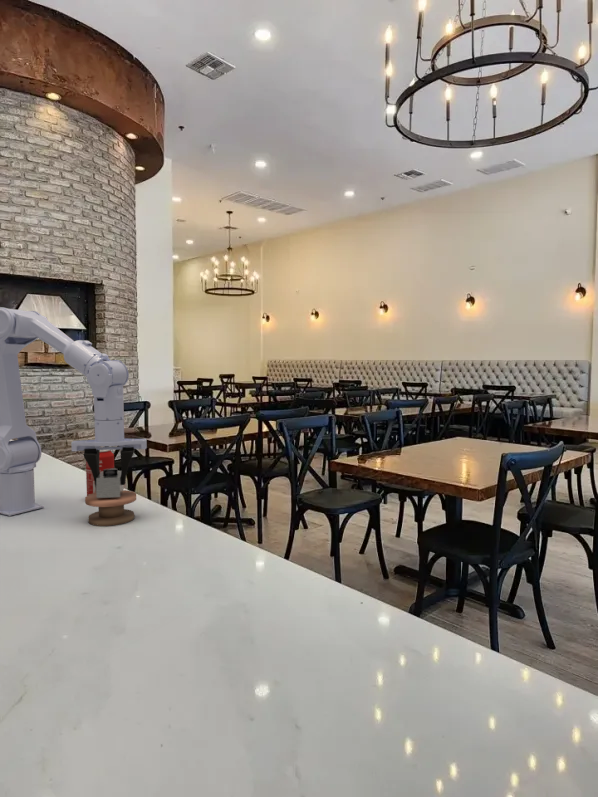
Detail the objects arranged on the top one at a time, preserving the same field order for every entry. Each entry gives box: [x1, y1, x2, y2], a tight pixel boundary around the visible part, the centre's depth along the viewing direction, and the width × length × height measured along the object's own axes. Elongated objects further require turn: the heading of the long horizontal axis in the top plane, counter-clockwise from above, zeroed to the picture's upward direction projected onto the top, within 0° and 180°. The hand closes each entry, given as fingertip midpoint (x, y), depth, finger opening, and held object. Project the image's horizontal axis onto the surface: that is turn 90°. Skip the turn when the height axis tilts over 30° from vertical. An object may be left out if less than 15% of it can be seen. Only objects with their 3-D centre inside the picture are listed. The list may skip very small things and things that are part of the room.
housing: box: [96, 467, 125, 498], centre depth 112 cm, size 4×7×5 cm, turn 12°
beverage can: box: [85, 450, 115, 496], centre depth 129 cm, size 6×6×12 cm
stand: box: [84, 489, 137, 527], centre depth 113 cm, size 10×10×5 cm
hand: (110, 484), depth 112 cm, fingers closed on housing, 4 cm apart
